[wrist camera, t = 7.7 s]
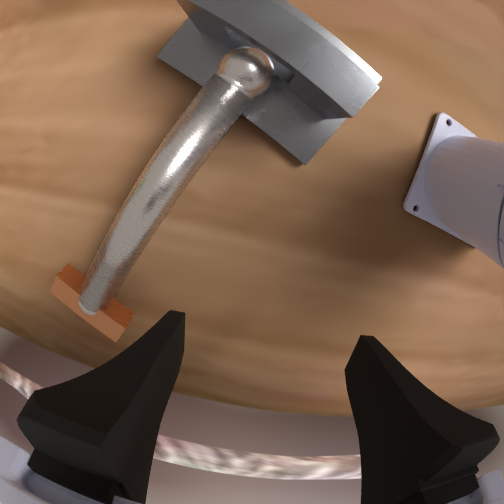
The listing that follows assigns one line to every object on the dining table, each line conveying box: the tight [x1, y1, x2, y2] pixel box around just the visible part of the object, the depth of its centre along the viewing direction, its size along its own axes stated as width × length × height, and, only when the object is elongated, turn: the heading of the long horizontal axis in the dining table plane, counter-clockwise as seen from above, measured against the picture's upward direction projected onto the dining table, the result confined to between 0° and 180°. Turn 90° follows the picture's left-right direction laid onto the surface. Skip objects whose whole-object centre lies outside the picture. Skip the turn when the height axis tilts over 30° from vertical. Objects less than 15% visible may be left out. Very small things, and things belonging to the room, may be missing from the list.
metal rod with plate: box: [50, 46, 274, 342], centre depth 16 cm, size 6×20×3 cm, turn 141°
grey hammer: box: [114, 0, 382, 297], centre depth 16 cm, size 12×26×7 cm, turn 141°
